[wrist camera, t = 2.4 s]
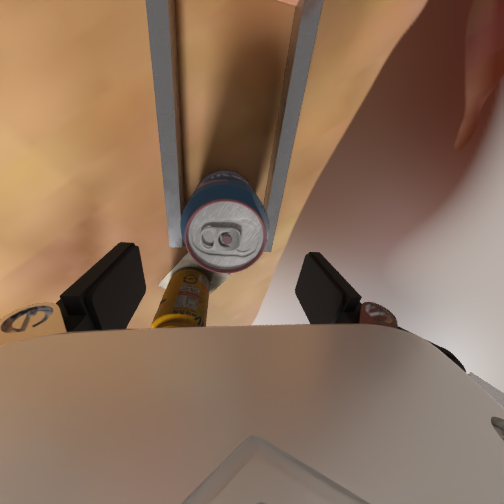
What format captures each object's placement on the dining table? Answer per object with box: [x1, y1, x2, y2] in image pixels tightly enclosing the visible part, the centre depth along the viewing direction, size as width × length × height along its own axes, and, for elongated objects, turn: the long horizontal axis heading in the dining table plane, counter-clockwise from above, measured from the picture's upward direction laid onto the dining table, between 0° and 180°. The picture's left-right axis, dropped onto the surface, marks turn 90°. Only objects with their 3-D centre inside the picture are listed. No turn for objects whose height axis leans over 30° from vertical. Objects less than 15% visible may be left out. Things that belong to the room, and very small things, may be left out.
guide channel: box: [146, 0, 323, 252], centre depth 19 cm, size 26×13×2 cm, turn 172°
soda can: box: [180, 170, 270, 273], centre depth 18 cm, size 7×7×12 cm
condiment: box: [151, 252, 230, 328], centre depth 24 cm, size 7×8×12 cm
